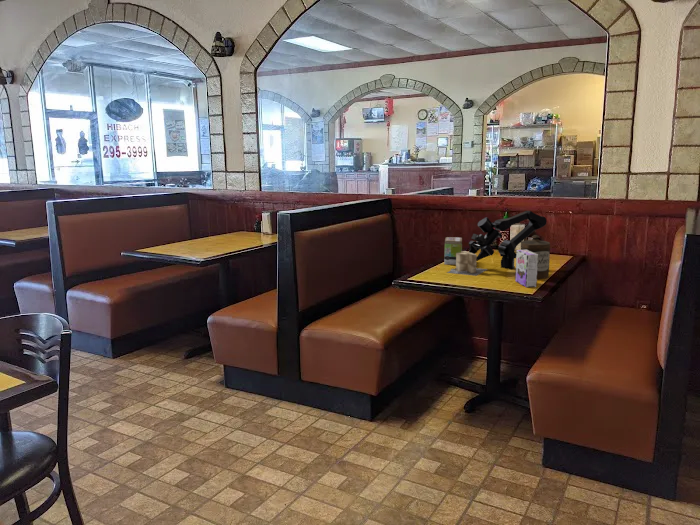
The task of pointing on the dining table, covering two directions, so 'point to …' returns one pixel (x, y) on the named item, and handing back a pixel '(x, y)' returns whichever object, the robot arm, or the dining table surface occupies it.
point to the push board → (478, 271)
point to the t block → (466, 261)
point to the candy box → (526, 268)
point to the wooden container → (539, 254)
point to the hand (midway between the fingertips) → (471, 259)
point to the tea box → (452, 249)
